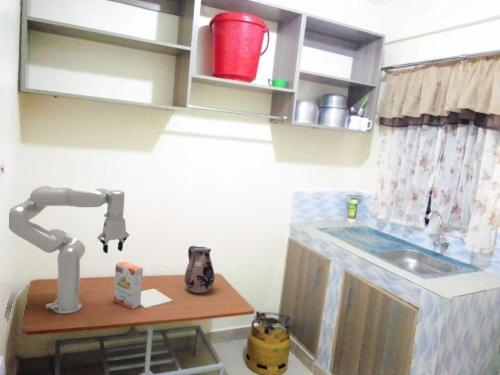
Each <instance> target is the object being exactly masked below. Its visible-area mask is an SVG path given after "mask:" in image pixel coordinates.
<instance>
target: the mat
mask: <svg viewBox="0 0 500 375" xmlns="http://www.w3.org/2000/svg"><path fill="white" fill-rule="evenodd" d="M172 302H173V299H171V298H170V297H168V296H167V295H165V294H163V293H162V292H160V291H159V290H157V289H155V288H151V289H150V288H149V289H146V290H141V302H140V306H141V307H142V308H143V309H146V310H147V309H149V308H154V307H156V306H159V305H160V306H161V305H164V304H168V303H172Z"/></svg>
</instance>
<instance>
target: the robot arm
mask: <svg viewBox="0 0 500 375" xmlns="http://www.w3.org/2000/svg"><path fill="white" fill-rule="evenodd" d="M105 204H107V207H106V213H103V214H104V216H103V217H105V219H104V223H103V226H102V227H103V228H102V232H101V233H100V234H99V235H98V236H97V239H98V241H99V242H100V243H101V244H102V252H104V254H108V253H109V245H108V243H109V241H113V240H114V241H115V240H118V243H117V250H118V251H119V252H123V248H124V247H123V246H124V243H125V241H126V240H128V238H129V237H130V234H129V233H128V232H127V228H126V218H124V209H125V192H124V191H123V190H118V189H117V190H115V189H112V190H111V189H106V188H97V189H95V190H93V191H89V190H88V191H87V190H86V191H84V190H83V191H81V190H76V189H72V188H70V187H52V186H49V185H42V186H40V187H37V188H35V189H33V190H32V191H31V193H30V194H29V197H28V199H26V200H25V201H24V202H21V203H19V204H17V205H14V206H13V207H12V208H10V209H9V210H10V213H9V227H8V229H9V230H10V231H11V232H12V233H13V234H14V235H16V236H18V237H19V238H20V239H23V240H24V241H26V242H28V243H29V244H31V245H33V246H34V247H36V248H38V249H40V250H41V251H43V252H45V253H47V254H49V253H50V254H51V253H54V252H56V251H59V252H58V254H57V271H58V272H57V295H56V299H54V301H53V302H51V303H50V302H49V303H46V304H45V309H50V310H53V312H54V313H57V314H60V315H61V314H62V315H64V314H73V313H76V312H78V311H79V310H81V309H82V305H83V304H82V302H80V301H79V298H80V296H79V295H80V279H81V278H80V277H81V266H80V261H81V258H83V256H84V254H85V252H86V246H85V245H84V243H83V242H82V241H81V240H79V239H77V238H76V237H74V236H73V235H71V234H69V233H68V232H66V231H64V230H61V229H59V228H53V229H50V230H47V229H45V228H44V227H42V226H41V225H39V224H37V223H34V222H32V221H30V220H32V219H34V218H35V217H36V216H37V215H39V214H40V213H41V212H42V211H43V210H44V209H46V208H47V207H50V206H51V207H75V208H76V207H77V208H98V207H101V206H103V205H105Z"/></svg>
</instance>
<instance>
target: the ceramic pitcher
mask: <svg viewBox="0 0 500 375" xmlns="http://www.w3.org/2000/svg"><path fill="white" fill-rule="evenodd" d="M211 251H212V248H210V247H206V246H195V245H190V246H189V247H188V250H187V253H188V254H187V255H188V264H187V267H186V269H185V273H184V283H185V285H186V288H188V290H189V291H191V293H196V294H203V293H207V292H208V291H209V290H210V289H211V288H212V286H213V285H214V282H215V271H214V268H213V267H214V266H213V262H212V260H211Z"/></svg>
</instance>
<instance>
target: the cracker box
mask: <svg viewBox="0 0 500 375" xmlns="http://www.w3.org/2000/svg"><path fill="white" fill-rule="evenodd" d="M143 272H144V270H143V267H141V266H139V265H135V264H132V263H130V262H126V261H122V262H118V263H116V264H115V271H114V273H115V275H114V290H113V302H114V303H116V304H118V305H120V306H123V307H125V308H128V309H130V310H134V309H137V308H139V307H140V306H141V305H140V302H141V291H142V289H143V288H142V287H143V286H142V285H143Z"/></svg>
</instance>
